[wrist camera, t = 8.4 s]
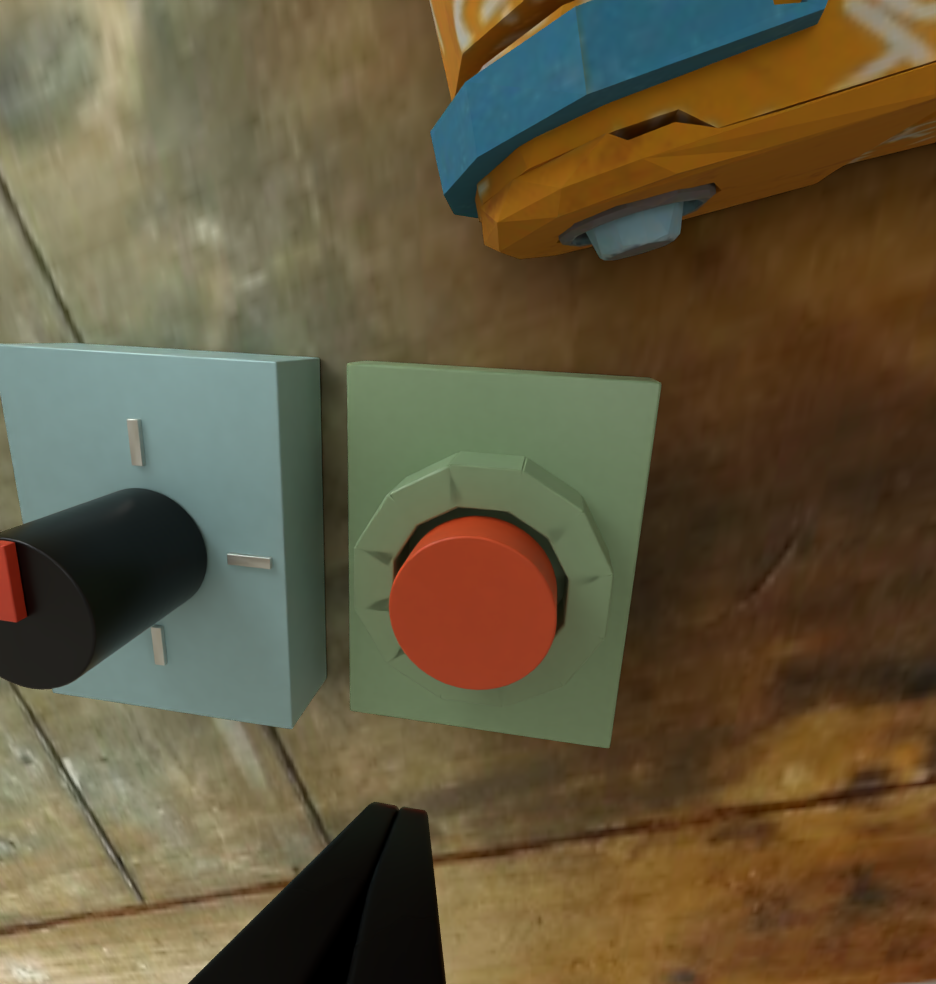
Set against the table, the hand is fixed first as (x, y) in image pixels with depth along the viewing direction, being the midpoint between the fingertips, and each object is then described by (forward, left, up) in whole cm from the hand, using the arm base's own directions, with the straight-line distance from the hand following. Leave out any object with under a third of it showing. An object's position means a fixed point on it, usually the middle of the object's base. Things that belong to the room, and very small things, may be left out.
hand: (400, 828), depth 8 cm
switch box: (0, 0, -12) cm, 12 cm away
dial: (-10, 0, -8) cm, 13 cm away
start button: (0, 0, -8) cm, 8 cm away
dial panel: (-10, 0, -12) cm, 16 cm away
